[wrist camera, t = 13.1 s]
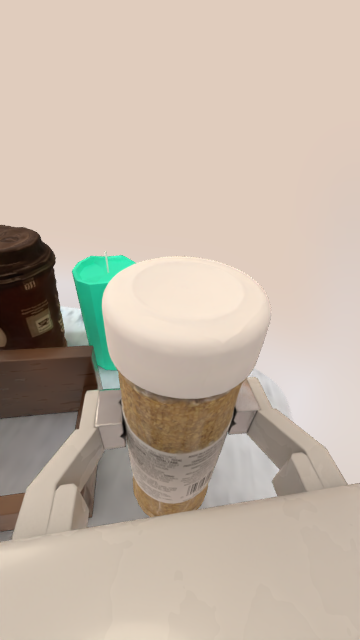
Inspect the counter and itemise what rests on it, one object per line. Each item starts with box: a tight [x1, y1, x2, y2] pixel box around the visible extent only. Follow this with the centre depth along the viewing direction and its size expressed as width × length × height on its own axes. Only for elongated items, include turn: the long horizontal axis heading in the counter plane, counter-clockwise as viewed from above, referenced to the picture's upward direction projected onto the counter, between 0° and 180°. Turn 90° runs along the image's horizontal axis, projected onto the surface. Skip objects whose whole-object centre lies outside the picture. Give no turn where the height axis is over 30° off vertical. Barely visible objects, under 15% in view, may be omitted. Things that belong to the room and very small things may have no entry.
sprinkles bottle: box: [102, 256, 271, 517], centre depth 11 cm, size 5×5×13 cm
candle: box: [72, 251, 136, 370], centre depth 25 cm, size 6×6×12 cm
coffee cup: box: [0, 225, 67, 350], centre depth 23 cm, size 9×8×13 cm
